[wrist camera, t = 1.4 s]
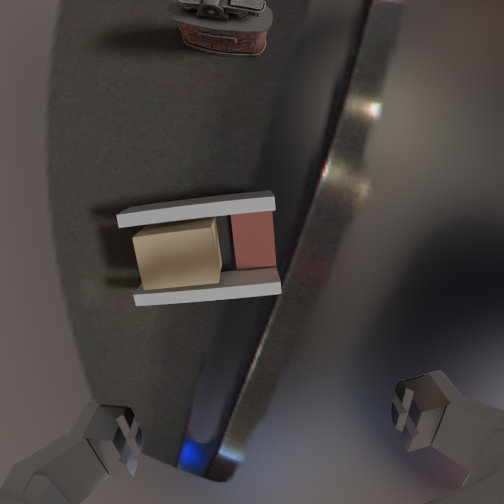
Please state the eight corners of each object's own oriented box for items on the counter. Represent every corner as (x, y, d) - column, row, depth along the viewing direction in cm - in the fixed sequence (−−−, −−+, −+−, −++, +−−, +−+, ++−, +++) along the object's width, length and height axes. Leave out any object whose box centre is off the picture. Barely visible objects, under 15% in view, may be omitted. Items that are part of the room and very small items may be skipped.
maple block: (147, 224, 32) (132, 237, 27) (215, 215, 32) (210, 227, 27) (156, 270, 33) (143, 290, 28) (221, 263, 33) (218, 283, 28)
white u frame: (130, 206, 31) (116, 215, 27) (270, 190, 31) (274, 196, 27) (146, 289, 34) (136, 305, 30) (276, 277, 34) (281, 293, 30)
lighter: (179, 50, 26) (155, 11, 17) (188, 21, 25) (168, -25, 16) (261, 63, 27) (270, 26, 17) (268, 33, 26) (280, -12, 16)
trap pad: (230, 208, 31) (230, 209, 31) (271, 204, 31) (271, 205, 31) (236, 268, 33) (236, 269, 33) (275, 264, 33) (276, 265, 33)
